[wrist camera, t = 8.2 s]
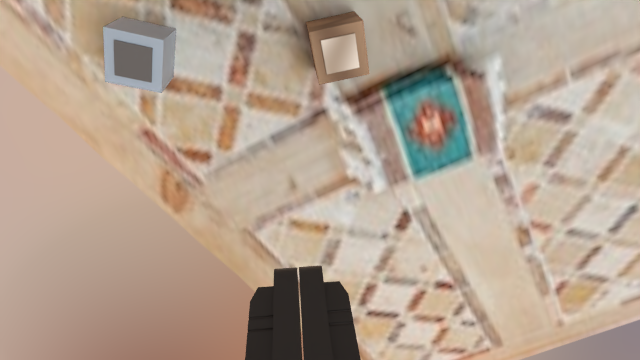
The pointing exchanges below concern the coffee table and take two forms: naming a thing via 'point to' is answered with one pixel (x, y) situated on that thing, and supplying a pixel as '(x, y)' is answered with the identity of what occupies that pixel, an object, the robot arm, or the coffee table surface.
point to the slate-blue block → (139, 54)
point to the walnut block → (338, 47)
